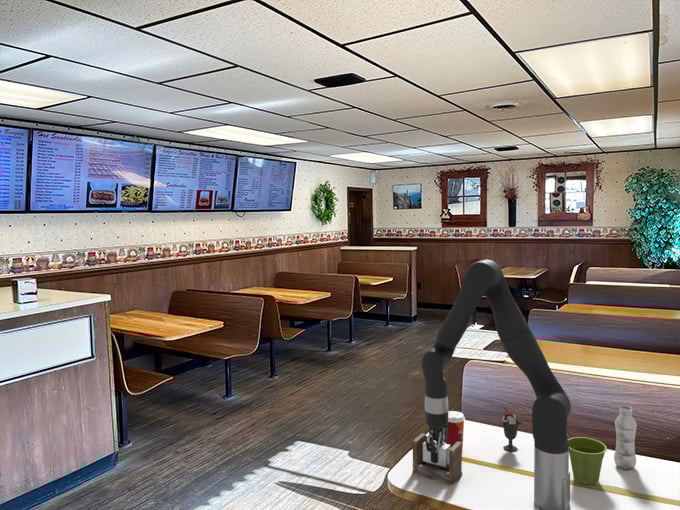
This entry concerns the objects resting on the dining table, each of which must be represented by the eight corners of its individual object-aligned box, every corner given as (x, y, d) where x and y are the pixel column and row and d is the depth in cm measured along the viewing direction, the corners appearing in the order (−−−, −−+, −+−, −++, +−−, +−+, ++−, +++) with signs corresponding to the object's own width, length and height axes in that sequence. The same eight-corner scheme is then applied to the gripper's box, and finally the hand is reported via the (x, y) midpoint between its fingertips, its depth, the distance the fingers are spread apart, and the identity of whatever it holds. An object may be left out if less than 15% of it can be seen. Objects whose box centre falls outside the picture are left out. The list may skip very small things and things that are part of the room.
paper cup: (465, 458, 180) (465, 419, 179) (442, 457, 181) (442, 418, 180) (464, 448, 187) (464, 410, 186) (443, 447, 189) (442, 409, 188)
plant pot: (574, 466, 172) (574, 433, 172) (612, 479, 164) (613, 444, 163) (558, 479, 165) (558, 445, 164) (597, 493, 156) (597, 457, 155)
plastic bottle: (613, 469, 170) (614, 410, 168) (613, 460, 176) (614, 402, 174) (636, 473, 167) (637, 413, 165) (635, 464, 173) (637, 405, 171)
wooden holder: (462, 474, 169) (462, 441, 168) (452, 485, 163) (452, 451, 162) (422, 463, 177) (422, 432, 176) (412, 473, 170) (411, 441, 170)
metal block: (450, 462, 169) (450, 444, 168) (446, 467, 166) (445, 449, 165) (427, 456, 173) (427, 439, 173) (423, 461, 170) (422, 443, 170)
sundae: (496, 447, 188) (496, 406, 186) (510, 443, 190) (511, 403, 189) (509, 454, 182) (509, 413, 180) (524, 450, 185) (524, 409, 183)
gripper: (438, 418, 160) (438, 472, 162) (455, 403, 172) (456, 454, 173) (416, 413, 164) (416, 466, 166) (434, 399, 176) (435, 448, 177)
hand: (436, 459), depth 169 cm, fingers closed on metal block, 3 cm apart
